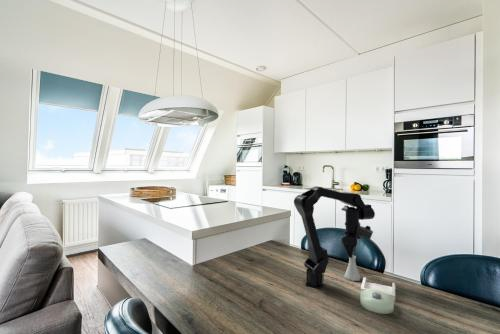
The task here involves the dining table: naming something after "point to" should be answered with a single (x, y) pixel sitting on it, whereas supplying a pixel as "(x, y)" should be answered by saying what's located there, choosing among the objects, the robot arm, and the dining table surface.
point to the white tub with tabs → (377, 297)
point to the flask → (352, 270)
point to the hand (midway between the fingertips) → (352, 254)
